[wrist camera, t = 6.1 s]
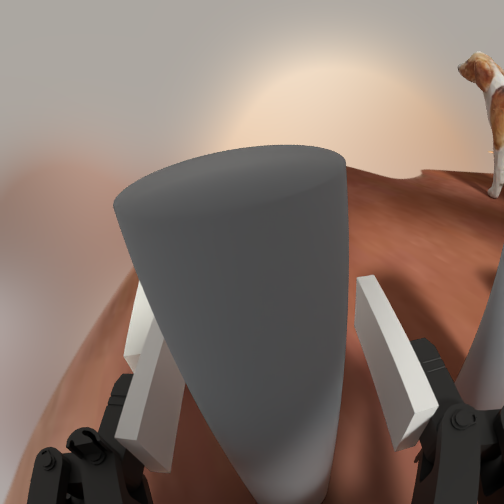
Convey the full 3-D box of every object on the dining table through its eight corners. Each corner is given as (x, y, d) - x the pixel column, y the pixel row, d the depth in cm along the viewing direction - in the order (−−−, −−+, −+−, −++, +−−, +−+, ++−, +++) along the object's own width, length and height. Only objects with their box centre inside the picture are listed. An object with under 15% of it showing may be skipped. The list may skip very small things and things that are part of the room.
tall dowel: (316, 447, 15) (300, 138, 7) (337, 505, 11) (396, 179, 4) (247, 464, 14) (135, 172, 7) (260, 525, 11) (81, 247, 3)
